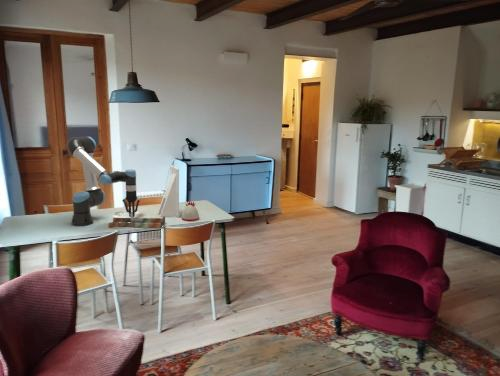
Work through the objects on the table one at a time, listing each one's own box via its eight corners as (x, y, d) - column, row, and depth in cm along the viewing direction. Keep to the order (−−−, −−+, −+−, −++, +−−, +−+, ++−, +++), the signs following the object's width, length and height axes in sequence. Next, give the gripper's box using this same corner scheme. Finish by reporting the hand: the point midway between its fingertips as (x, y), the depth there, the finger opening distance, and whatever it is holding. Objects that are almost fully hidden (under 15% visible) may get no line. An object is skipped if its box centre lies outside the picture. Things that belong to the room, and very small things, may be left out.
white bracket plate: (155, 212, 343) (154, 166, 335) (172, 211, 350) (171, 165, 342) (161, 219, 326) (161, 169, 318) (179, 217, 332) (178, 169, 324)
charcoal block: (132, 226, 305) (132, 221, 304) (134, 223, 311) (134, 218, 311) (141, 226, 305) (141, 221, 304) (143, 223, 312) (143, 218, 311)
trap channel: (108, 227, 299) (108, 220, 298) (113, 222, 314) (113, 215, 313) (162, 227, 302) (162, 221, 301) (165, 222, 316) (164, 216, 316)
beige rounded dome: (195, 222, 320) (195, 203, 318) (179, 220, 323) (179, 202, 320) (201, 217, 334) (201, 199, 331) (185, 216, 336) (185, 198, 334)
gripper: (120, 191, 298) (122, 222, 303) (139, 191, 299) (139, 222, 304) (123, 189, 306) (124, 219, 310) (141, 189, 306) (141, 219, 311)
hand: (132, 220), depth 307 cm, fingers closed
